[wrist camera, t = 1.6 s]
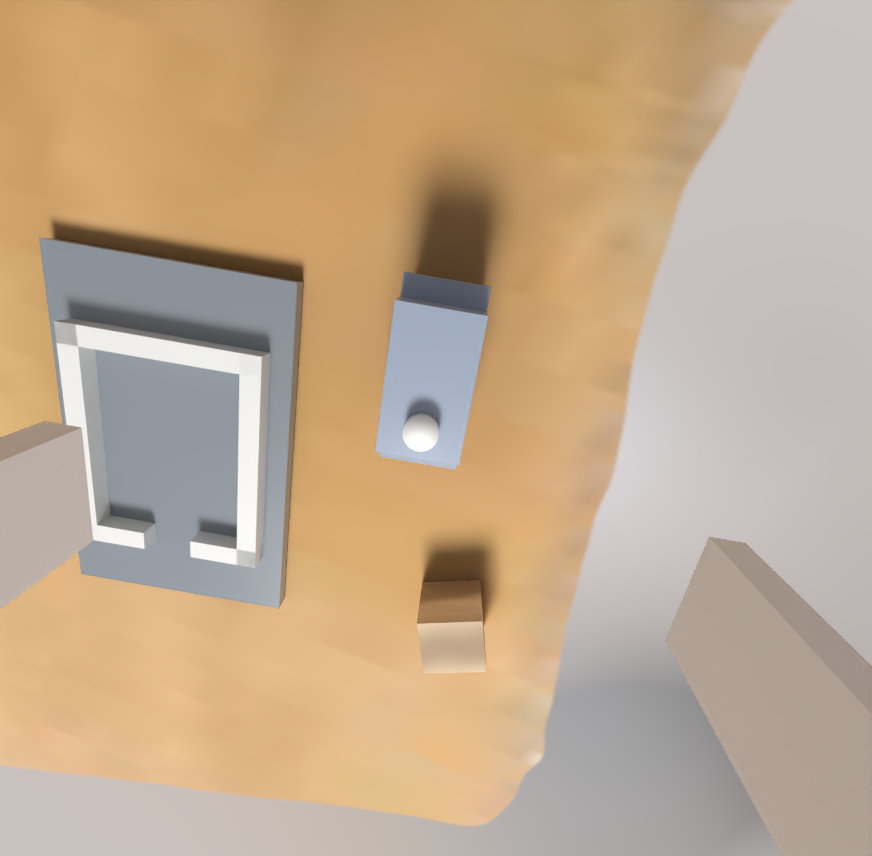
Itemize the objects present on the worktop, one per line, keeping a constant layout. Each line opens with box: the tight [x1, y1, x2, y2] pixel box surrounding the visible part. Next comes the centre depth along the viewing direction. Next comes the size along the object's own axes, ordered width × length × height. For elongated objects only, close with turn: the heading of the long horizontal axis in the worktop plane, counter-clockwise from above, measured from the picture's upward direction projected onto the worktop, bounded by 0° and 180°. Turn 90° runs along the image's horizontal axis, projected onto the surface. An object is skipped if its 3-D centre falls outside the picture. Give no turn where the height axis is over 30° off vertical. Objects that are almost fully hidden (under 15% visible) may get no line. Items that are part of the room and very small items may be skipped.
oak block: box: [417, 580, 486, 673], centre depth 31 cm, size 4×4×4 cm
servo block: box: [375, 272, 491, 469], centre depth 23 cm, size 9×4×7 cm, turn 171°
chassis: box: [39, 238, 303, 608], centre depth 28 cm, size 22×14×2 cm, turn 171°
